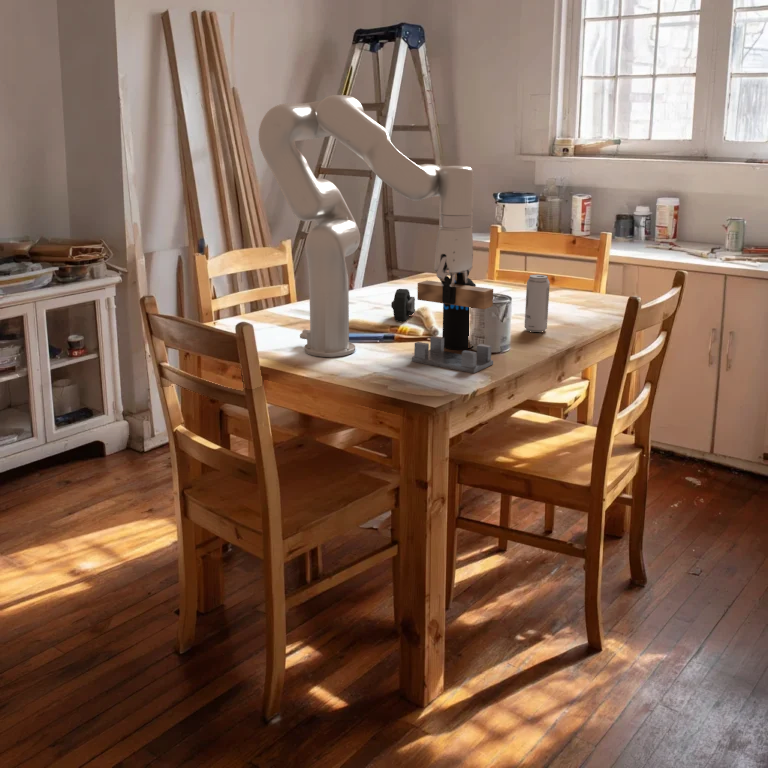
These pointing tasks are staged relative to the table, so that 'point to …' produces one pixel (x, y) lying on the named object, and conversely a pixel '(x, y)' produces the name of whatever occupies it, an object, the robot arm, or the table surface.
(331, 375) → the table surface
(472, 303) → the rail
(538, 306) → the energy drink can
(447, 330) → the aerosol can
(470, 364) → the cradle
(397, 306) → the caster wheel
